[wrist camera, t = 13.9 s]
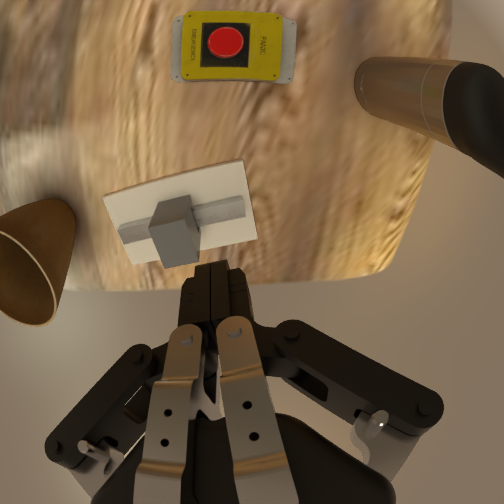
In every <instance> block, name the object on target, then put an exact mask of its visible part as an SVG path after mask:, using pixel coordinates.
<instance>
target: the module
mask: <svg viewBox="0 0 504 504" xmlns="http://www.w3.org/2000/svg"><path fill="white" fill-rule="evenodd" d="M191 203H192V200H191V197H190V194H189V195H185V196H181V197H177V198H173V199H169V200H165V201H161V202H158V204H157V207H156V209H155V211H154V214H153V216H152V219H151V221H150V224H149V226H148V230H149V233H150V235H151V238H152V240H153V242H154V245H155V247H156V250H157V252H158V254H159V257H160V259H161V261H162V264H163V266H164V268H165V269H166V268H171V267H176V266H181V265H186V264H191V263H195V262H199V255H200V241H201V230H200V227H196V223H195V220H194V217H193V214H192V210H191Z"/></svg>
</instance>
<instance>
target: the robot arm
mask: <svg viewBox="0 0 504 504" xmlns="http://www.w3.org/2000/svg"><path fill="white" fill-rule="evenodd" d="M355 92H356V95H357V98H358V100H359V102H360V104H361V105H362V107H363V108H364V109H365V110H366V111H367V112H369V113H370V114H371V115H374V116H376V117H378V118H381V119H384V120H387V121H390V122H392V123H395V124H398V125H401V126H403V127H406V128H409V129H411V130H414V131H416V132H419V133H421V134H423V135H426V136H428V137H430V138H433V139H435V140H437V141H439V142H442V143H444V144H446V145H448V146H450V147H453V148H455V149H457V150H459V151H461V152H462V153H464V154H466V155H468V156H470V157H472V158H473V159H474V160H476V161H477V162H479V163H480V164H482V165H483V166H485V167H486V168H488V169H490V170H491V171H493V172H495V173H496V174H498V175H499V176H501V177H502V178H504V78H503V77H502V75H501V74H500V73H498V72H497V71H496V70H495V69H493V68H491V67H489V66H487V65H484V64H479V63H473V62H465V61H457V60H448V59H435V58H419V57H375V58H371V59H368V60H366V61H365V62H364V63H362V64H361V66H360V67H359V68H358V71H357V73H356V76H355ZM218 355H219V358H220V365H221V372H222V376H220V367H219V365H218ZM266 376H274V377H281V378H282V379H283V380H284V381H285V382H287V383H288V384H289V385H291V386H292V387H294V388H295V389H297V390H298V391H300V392H301V393H303V394H304V395H306V396H307V397H309V398H310V399H312V400H313V401H315V402H317V403H318V404H319V405H321V406H322V407H324V408H326V409H327V410H329V411H330V412H332V413H334V414H335V415H337V416H338V417H340V418H342V419H343V420H345V421H346V422H348V423H350V424H351V425H353V427H352V429H351V432H350V437H351V441H352V443H353V444H354V445H355V446H356V447H357V448H358V449H359V450H360V451H361V453H362V454H363V458H364V462H363V463H362V462H360V461H359V460H357V459H356V458H354V457H353V456H351V455H350V454H348V453H347V452H345V451H344V450H342V449H341V448H339V447H338V446H336V445H334V444H333V443H332V442H330V441H329V440H327V439H326V438H325V437H323V436H322V435H320V434H319V433H318V432H316V431H315V430H314V429H312V428H311V427H309V426H308V425H307V424H305V423H304V422H302V421H301V420H299V419H297V418H295V417H292V416H289V415H286V414H281V413H276V412H275V409H274V405H273V402H272V398H271V394H270V391H269V387H268V383H267V380H266ZM141 386H142V387H141ZM140 387H141V388H140ZM220 387H221V394H222V400H223V407H224V412H225V417H223V418H222V416H221V412H220V407H219V397H220ZM139 388H140V390H138V389H139ZM137 390H138V392H137V393H136V394H135V392H136V391H137ZM134 394H135V395H134ZM133 395H134V396H133ZM132 396H133V397H132ZM131 397H132V398H131ZM130 398H131V399H130ZM129 399H130V401H129V402H128V403H127V401H128V400H129ZM126 403H127V404H126ZM125 404H126V405H125ZM124 405H125V406H124ZM443 411H444V404H443V401H442V398H441V397H440V396H439V394H437V393H436V392H435V391H433V390H430V389H428V388H427V387H425V386H423V385H420V384H418V383H417V382H415V381H413V380H411V379H409V378H407V377H405V376H403V375H401V374H399V373H397V372H395V371H393V370H391V369H389V368H387V367H385V366H383V365H381V364H380V363H378V362H375V361H374V360H372V359H370V358H368V357H366V356H364V355H362V354H361V353H359V352H357V351H355V350H353V349H351V348H349V347H348V346H346V345H344V344H342V343H340V342H339V341H337V340H335V339H333V338H331V337H329V336H328V335H326V334H324V333H322V332H320V331H318V330H317V329H315V328H313V327H311V326H310V325H308V324H306V323H304V322H302V321H300V320H287V321H284V322H282V323H280V324H279V325H278V326H277V327H276V328H272V327H264V326H261V325H259V324H257V323H256V322H255V321H254V315H253V309H252V303H251V297H250V293H249V288H248V284H247V280H246V276H245V274H244V272H243V271H242V270H241V269H240V268H236V269H231V270H230V268H229V265H228V261H227V259H226V260H221V261H216V262H211V263H207V264H202V265H197V266H195V273H194V277H191V278H187V279H186V281H185V282H184V284H183V285H182V289H181V298H180V308H179V317H178V328H176V329H175V330H174V331H173V332H172V333H171V335H170V338H169V341H168V342H167V343H165V344H163V345H161V346H159V347H156V348H154V349H151V348H150V347H149V346H147V345H145V344H137V345H134V346H132V347H130V348H129V349H128V350H127V351H126V352H125V353H124V354H123V355H122V356H121V358H119V360H118V361H117V362H116V363H115V364H114V365H113V366H112V367H111V368H110V369H109V370H108V371H107V372H106V373H105V374H104V376H103V377H102V378H101V379H100V380H99V381H98V382H97V383H96V384H95V385H94V386H93V387H92V388H91V389H90V391H89V392H88V393H87V394H86V395H85V396H84V397H83V398H82V399H81V400H80V401H79V403H78V404H77V405H76V406H75V407H74V408H73V409H72V410H71V411H70V412H69V414H68V415H67V416H66V417H65V418H64V419H63V420H62V421H61V422H60V424H59V425H58V426H57V427H56V428H55V429H54V430H53V431H52V432H51V434H50V435H49V436H48V437H47V439H46V441H45V453H46V455H47V457H48V458H49V459H50V460H51V461H53V462H55V463H57V464H59V465H61V466H63V467H65V468H67V469H68V470H69V471H70V472H71V473H72V475H73V476H74V477H75V479H76V480H77V481H78V482H79V484H80V485H81V486H82V487H83V489H84V490H85V491H86V492H87V493H88V495H89V496H90V497H91V498H92V500H91V504H396V495H395V491H394V488H393V486H392V484H391V483H390V482H391V481H392V480H393V478H394V477H395V475H396V474H397V473H398V471H399V470H400V468H401V467H402V465H403V464H404V462H405V461H406V459H407V458H408V456H409V455H410V453H411V452H412V450H413V448H414V447H415V445H416V443H417V442H418V440H419V438H420V437H421V436H422V435H423V434H424V433H425V432H427V431H428V430H429V429H430V428H432V427H433V426H434V425H435V424H436V423H437V422H438V421H439V420H440V419H441V417H442V415H443ZM145 431H146V432H145ZM144 432H145V435H144V436H143V437H142V438H141V439H140V441H139V442H138V443H137V444H136V445H135V447H134V448H133V449H132V450H131V452H130V453H129V454H128V455H127V457H126V458H125V459H124V455H125V454H126V453H127V452H128V451H129V449H130V448H131V447H132V446H133V445H134V444H135V443H136V441H137V440H138V439H139V438H140V437H141V435H142V434H143V433H144Z"/></svg>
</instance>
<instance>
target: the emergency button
mask: <svg viewBox="0 0 504 504" xmlns="http://www.w3.org/2000/svg"><path fill="white" fill-rule="evenodd" d="M296 34H297V25H296V22H295V21H293V20H291V19H288V18H283V17H282V16H281V15H279V14H276V13H266V12H253V11H231V10H210V11H190V12H187V13H186V14H185V15H182V16H178V17H176V18H175V19H174V21H173V24H172V42H171V74H170V76H171V79H172V80H173V81H175V82H193V81H251V82H268V83H281V84H287V83H290V82H291V81H292V80H293V78H294V65H295V50H296Z"/></svg>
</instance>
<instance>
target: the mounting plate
mask: <svg viewBox="0 0 504 504" xmlns="http://www.w3.org/2000/svg"><path fill="white" fill-rule="evenodd" d="M189 194H190V197H191V200H192V203H191V207H192V206H196V205H200V204H205V203H209V202H214V201H218V200H223V199H227V198H232V197H237V196H242V199H243V204H244V209H245V213H246V217H243V218H238V219H233V220H228V221H224V222H219V223H214V224H210V225H205V226H201V227H200V230H201V241H200V251H201V250H206V249H211V248H216V247H220V246H225V245H230V244H235V243H240V242H244V241H249V240H254V239H258V238H257V232H256V227H255V222H254V217H253V211H252V206H251V201H250V196H249V190H248V185H247V180H246V175H245V170H244V164H243V160H242V159H238V160H233V161H228V162H224V163H219V164H215V165H210V166H206V167H202V168H197V169H193V170H189V171H185V172H181V173H177V174H174V175H170V176H166V177H162V178H159V179H155V180H152V181H148V182H145V183H141V184H138V185H135V186H132V187H128V188H125V189H122V190H119V191H116V192H113V193H110V194H107V195H104V197H103V198H102V199H103V201H104V204H105V206H106V208H107V211H108V213H109V216H110V218H111V220H112V222H113V225H114V227H115V229H116V231H117V229H118V228H119V226H120V225H122V224H125V223H129V222H133V221H136V220H140V219H144V218H147V217H151V216H153V214H154V211H155V209H156V207H157V204H158V202H161V201H165V200H169V199H173V198H177V197H181V196H185V195H189ZM117 234H118V236H119V233H118V231H117ZM119 238H120V236H119ZM120 240H121V238H120ZM121 242H122V240H121ZM122 244H123V242H122ZM123 247H124V249H125V251H126V253H127V255H128V257H129V259H130V261H131V263H132V265H136V264H141V263H145V262H150V261H155V260H159V259H160V257H159V254H158V252H157V250H156V247H155V245H154V242H153V240H152V238H149V239H145V240H141V241H137V242H133V243H129V244H125V245H124V244H123Z"/></svg>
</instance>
